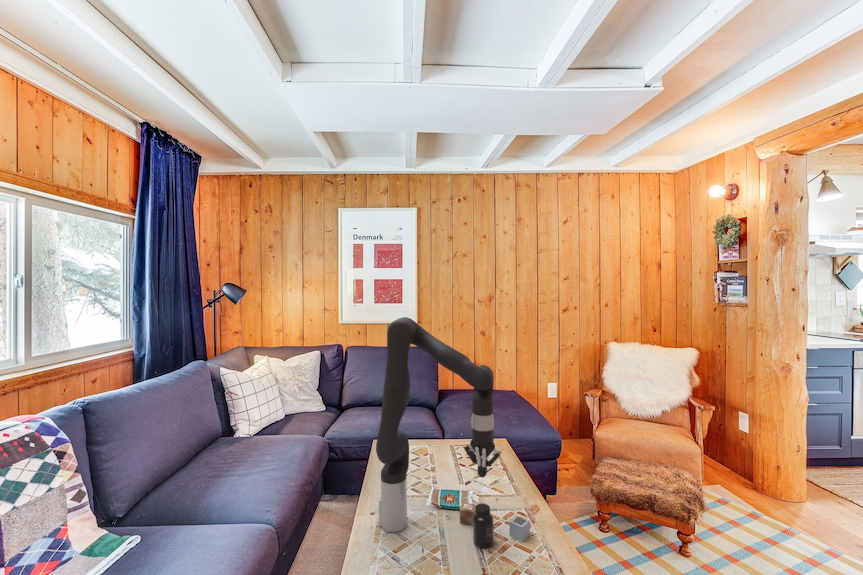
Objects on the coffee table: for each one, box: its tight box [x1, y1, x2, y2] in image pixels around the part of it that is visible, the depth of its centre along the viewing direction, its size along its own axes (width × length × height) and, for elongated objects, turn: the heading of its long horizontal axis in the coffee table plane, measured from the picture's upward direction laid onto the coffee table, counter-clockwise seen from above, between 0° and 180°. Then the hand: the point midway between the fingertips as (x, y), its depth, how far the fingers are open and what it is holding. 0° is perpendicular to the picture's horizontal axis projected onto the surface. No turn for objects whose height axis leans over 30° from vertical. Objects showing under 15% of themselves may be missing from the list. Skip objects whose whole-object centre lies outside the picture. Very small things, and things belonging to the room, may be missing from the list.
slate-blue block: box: [509, 514, 531, 543], centre depth 137 cm, size 5×5×5 cm
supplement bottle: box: [472, 502, 495, 549], centre depth 134 cm, size 7×7×12 cm
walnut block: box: [459, 502, 477, 526], centre depth 146 cm, size 5×5×5 cm
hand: (482, 476), depth 135 cm, fingers closed
